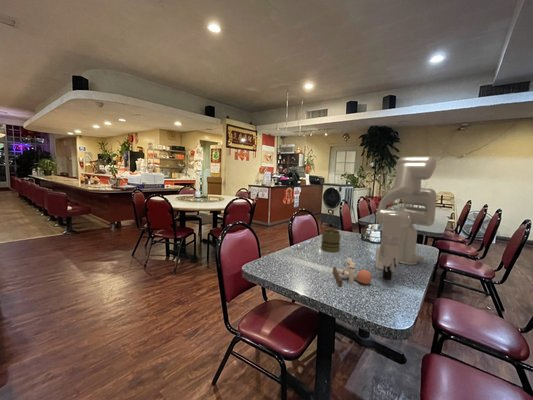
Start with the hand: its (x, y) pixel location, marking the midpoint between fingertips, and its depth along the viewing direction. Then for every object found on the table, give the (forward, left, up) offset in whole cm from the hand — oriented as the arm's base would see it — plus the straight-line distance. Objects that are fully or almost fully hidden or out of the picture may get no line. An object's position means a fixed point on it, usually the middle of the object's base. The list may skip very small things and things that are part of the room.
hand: (386, 279), depth 110 cm
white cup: (-5, -19, -2) cm, 20 cm away
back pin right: (+16, -2, -2) cm, 17 cm away
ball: (+11, +3, +2) cm, 11 cm away
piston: (+18, -45, -2) cm, 48 cm away
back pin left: (+16, +2, -2) cm, 17 cm away
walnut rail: (+22, 0, -2) cm, 22 cm away
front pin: (+13, 0, 0) cm, 13 cm away
